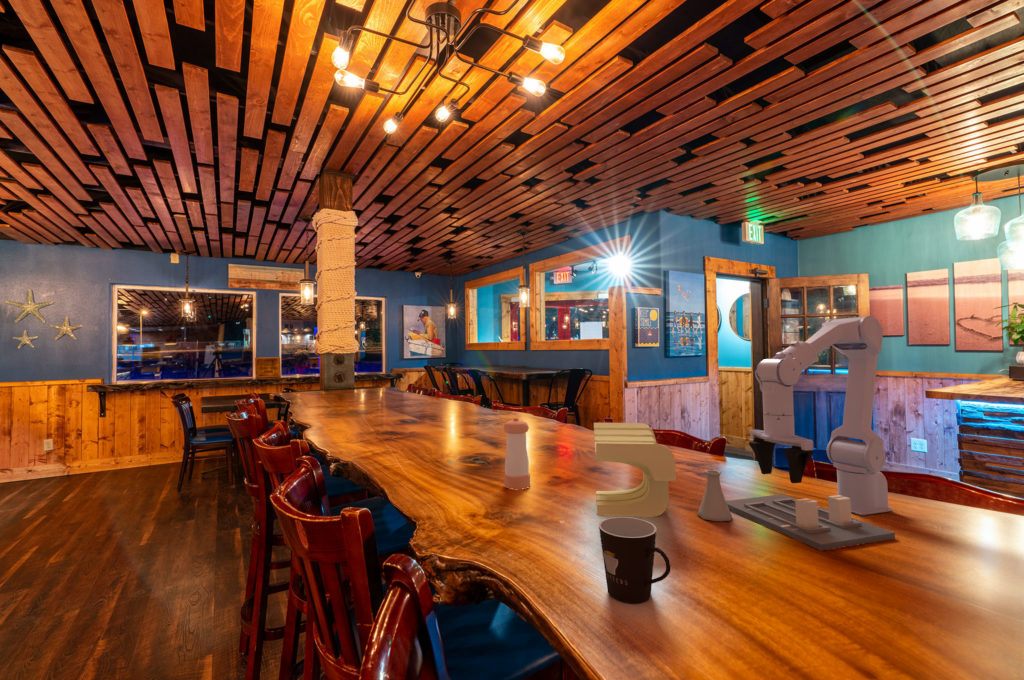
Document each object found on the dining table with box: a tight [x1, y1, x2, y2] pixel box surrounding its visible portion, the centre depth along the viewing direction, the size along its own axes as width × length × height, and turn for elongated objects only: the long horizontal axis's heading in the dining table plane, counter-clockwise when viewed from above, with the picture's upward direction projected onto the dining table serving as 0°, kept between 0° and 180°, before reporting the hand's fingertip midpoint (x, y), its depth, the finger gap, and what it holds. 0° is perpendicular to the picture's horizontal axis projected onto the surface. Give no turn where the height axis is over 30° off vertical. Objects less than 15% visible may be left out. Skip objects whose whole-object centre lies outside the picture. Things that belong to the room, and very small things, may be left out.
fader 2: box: [827, 494, 852, 524], centre depth 94 cm, size 3×2×5 cm
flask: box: [697, 469, 733, 522], centre depth 102 cm, size 7×7×10 cm
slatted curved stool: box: [593, 422, 677, 518], centre depth 110 cm, size 30×16×18 cm, turn 171°
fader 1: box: [795, 497, 819, 529], centre depth 92 cm, size 3×2×5 cm
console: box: [726, 493, 896, 552], centre depth 99 cm, size 18×26×2 cm
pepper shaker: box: [503, 417, 531, 489], centre depth 129 cm, size 7×7×19 cm
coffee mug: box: [598, 516, 672, 605], centre depth 69 cm, size 12×9×10 cm
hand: (780, 478), depth 98 cm, fingers open, 7 cm apart
